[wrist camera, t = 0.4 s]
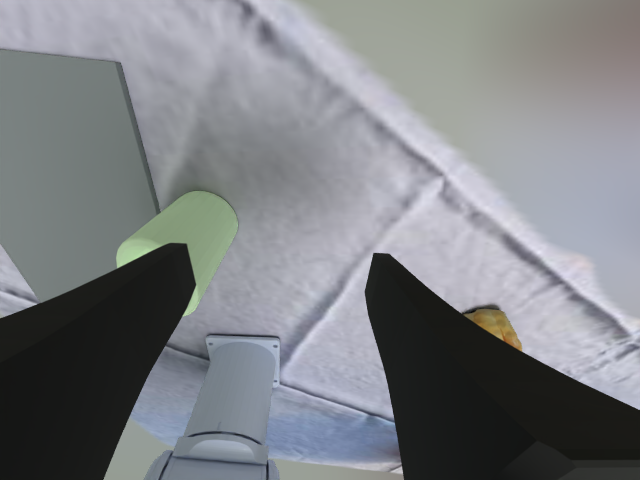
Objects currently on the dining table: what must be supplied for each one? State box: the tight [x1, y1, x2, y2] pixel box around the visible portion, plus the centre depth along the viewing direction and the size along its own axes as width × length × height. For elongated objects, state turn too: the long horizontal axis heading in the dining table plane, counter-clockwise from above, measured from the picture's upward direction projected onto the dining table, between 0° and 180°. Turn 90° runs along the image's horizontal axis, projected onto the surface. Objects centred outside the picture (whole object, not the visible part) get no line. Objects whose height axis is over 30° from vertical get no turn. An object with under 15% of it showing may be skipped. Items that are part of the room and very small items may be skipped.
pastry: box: [463, 309, 522, 351], centre depth 27 cm, size 9×7×4 cm
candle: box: [116, 191, 238, 317], centre depth 16 cm, size 5×5×8 cm
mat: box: [0, 50, 160, 303], centre depth 19 cm, size 20×13×1 cm, turn 175°
